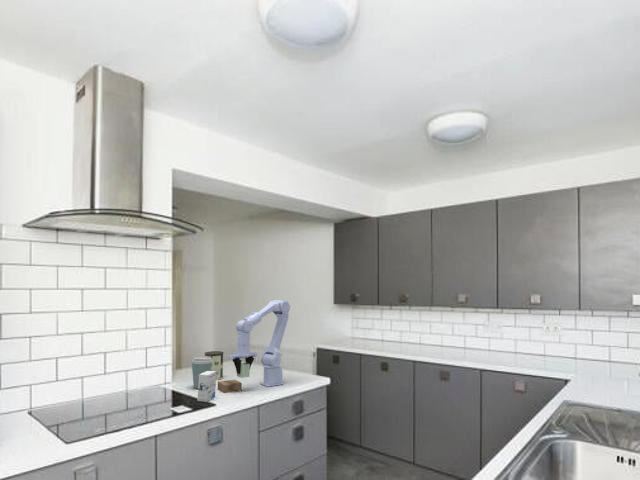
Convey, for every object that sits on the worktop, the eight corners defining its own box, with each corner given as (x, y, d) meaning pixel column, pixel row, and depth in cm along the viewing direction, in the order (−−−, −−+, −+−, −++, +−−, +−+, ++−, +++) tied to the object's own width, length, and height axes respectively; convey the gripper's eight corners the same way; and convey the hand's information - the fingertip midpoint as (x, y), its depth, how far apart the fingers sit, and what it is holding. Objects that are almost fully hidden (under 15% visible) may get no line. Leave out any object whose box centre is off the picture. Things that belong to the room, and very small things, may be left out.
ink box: (206, 396, 198) (206, 370, 200) (216, 397, 197) (216, 371, 199) (197, 401, 190) (198, 374, 191) (207, 401, 189) (208, 374, 190)
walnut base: (234, 387, 217) (234, 379, 217) (241, 391, 209) (241, 382, 210) (217, 389, 212) (217, 381, 212) (223, 393, 204) (224, 385, 205)
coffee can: (213, 375, 243) (214, 350, 245) (226, 377, 238) (227, 352, 239) (199, 379, 235) (200, 352, 236) (212, 381, 229) (213, 354, 231)
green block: (244, 375, 213) (245, 362, 213) (249, 376, 209) (249, 364, 210) (236, 376, 210) (237, 363, 210) (241, 377, 206) (241, 365, 207)
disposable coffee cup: (196, 384, 221) (197, 355, 223) (215, 385, 219) (216, 355, 221) (186, 389, 211) (187, 358, 213) (206, 390, 209) (207, 359, 210)
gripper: (234, 347, 204) (233, 376, 202) (260, 344, 213) (259, 372, 211) (227, 345, 209) (226, 373, 208) (253, 343, 218) (252, 370, 217)
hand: (242, 373), depth 210 cm, fingers closed on green block, 4 cm apart
